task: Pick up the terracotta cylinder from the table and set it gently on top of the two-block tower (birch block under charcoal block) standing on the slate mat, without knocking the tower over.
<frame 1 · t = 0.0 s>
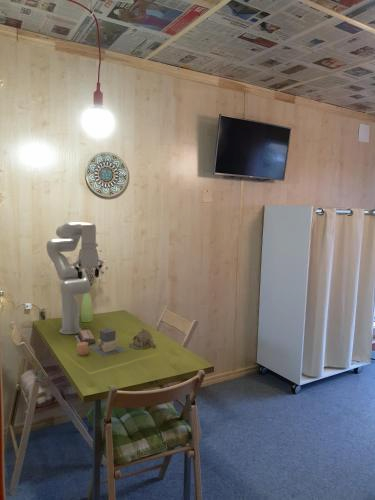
hand: (88, 277, 205), 37 cm above the table, tool pointing down, fingers open, 9 cm apart
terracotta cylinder: (82, 355, 192), on the table
packaged product: (86, 342, 212), on the table
ceramic model: (142, 347, 207), on the table
slate mat: (107, 350, 199), on the table
birch block: (107, 348, 199), point 1 cm above the table, touching charcoal block, slate mat
charcoal block: (107, 339, 199), point 6 cm above the table, touching birch block
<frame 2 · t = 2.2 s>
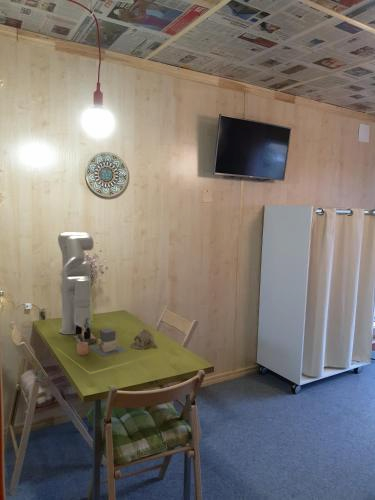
hand: (82, 336, 191), 10 cm above the table, tool pointing down, fingers open, 9 cm apart
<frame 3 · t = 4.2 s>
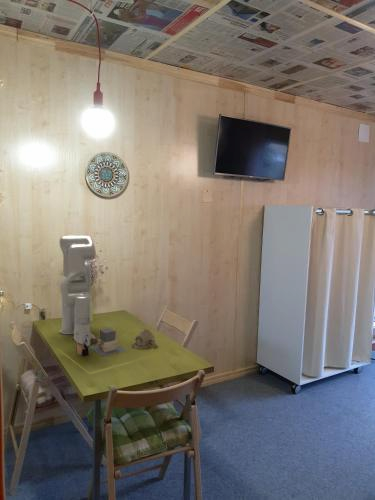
hand: (82, 354, 192), 1 cm above the table, tool pointing down, fingers closed on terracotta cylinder, 5 cm apart
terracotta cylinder: (82, 355, 192), on the table, touching gripper
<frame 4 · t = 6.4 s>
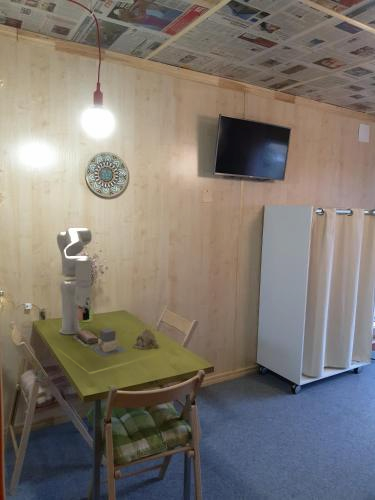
hand: (83, 317, 191), 19 cm above the table, tool pointing down, fingers closed on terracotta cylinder, 5 cm apart
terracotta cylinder: (83, 319, 191), point 19 cm above the table, touching gripper
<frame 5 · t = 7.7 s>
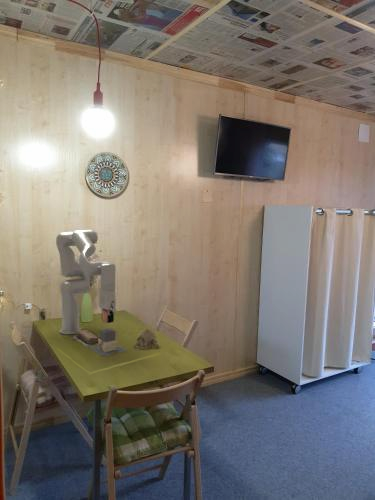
hand: (107, 320, 198), 16 cm above the table, tool pointing down, fingers closed on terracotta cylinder, 5 cm apart
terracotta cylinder: (107, 321, 198), point 16 cm above the table, touching gripper
when the fingers open (13 cm above the table, at t = 8.8 s): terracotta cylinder drops 1 cm, resting on charcoal block.
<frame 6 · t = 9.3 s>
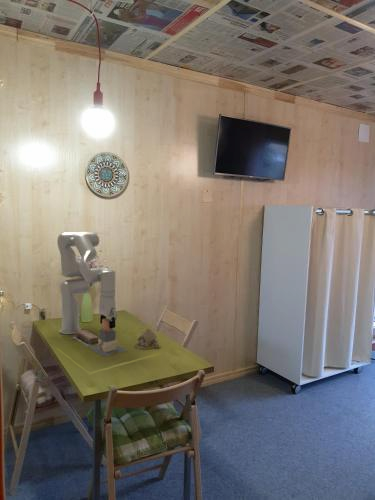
hand: (107, 325, 198), 14 cm above the table, tool pointing down, fingers open, 9 cm apart
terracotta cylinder: (107, 330, 198), point 11 cm above the table, touching charcoal block
charcoal block: (107, 339, 199), point 6 cm above the table, touching birch block, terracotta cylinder
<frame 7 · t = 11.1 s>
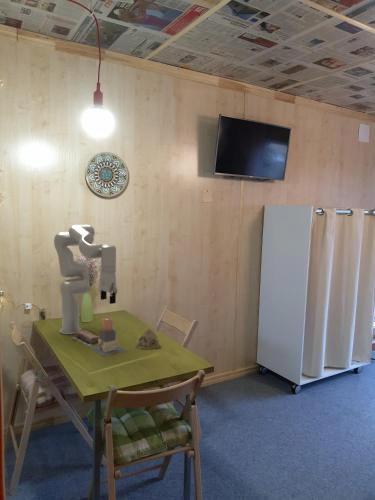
hand: (108, 301, 197), 26 cm above the table, tool pointing down, fingers open, 9 cm apart
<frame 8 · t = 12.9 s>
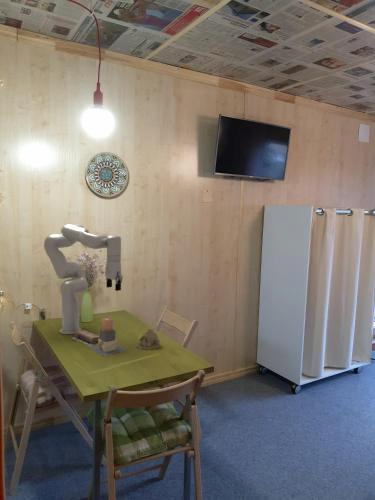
hand: (113, 288, 209), 30 cm above the table, tool pointing down, fingers open, 9 cm apart
at the end: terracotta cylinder 0.0 cm off-centre on the charcoal block, point 5.0 cm above the charcoal block's base; charcoal block tilted 0°; charcoal block moved 0.0 cm from its start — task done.
